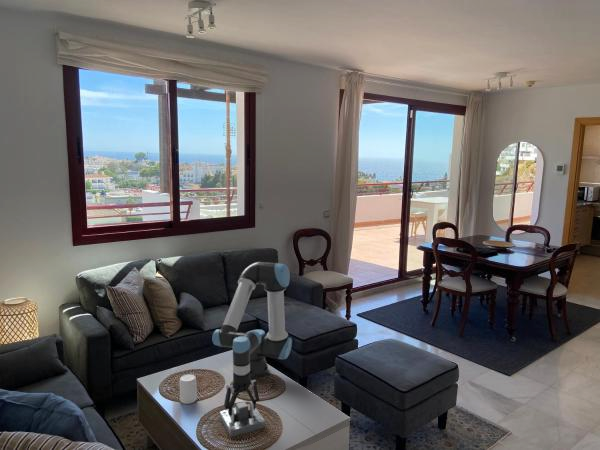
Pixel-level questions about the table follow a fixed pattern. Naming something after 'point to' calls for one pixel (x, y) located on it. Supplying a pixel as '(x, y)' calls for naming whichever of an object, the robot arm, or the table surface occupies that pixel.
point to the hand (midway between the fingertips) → (242, 418)
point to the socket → (242, 422)
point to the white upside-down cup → (188, 388)
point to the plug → (242, 411)
